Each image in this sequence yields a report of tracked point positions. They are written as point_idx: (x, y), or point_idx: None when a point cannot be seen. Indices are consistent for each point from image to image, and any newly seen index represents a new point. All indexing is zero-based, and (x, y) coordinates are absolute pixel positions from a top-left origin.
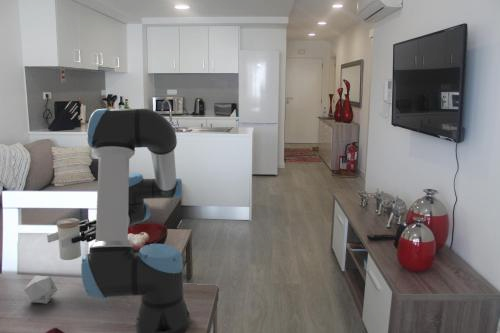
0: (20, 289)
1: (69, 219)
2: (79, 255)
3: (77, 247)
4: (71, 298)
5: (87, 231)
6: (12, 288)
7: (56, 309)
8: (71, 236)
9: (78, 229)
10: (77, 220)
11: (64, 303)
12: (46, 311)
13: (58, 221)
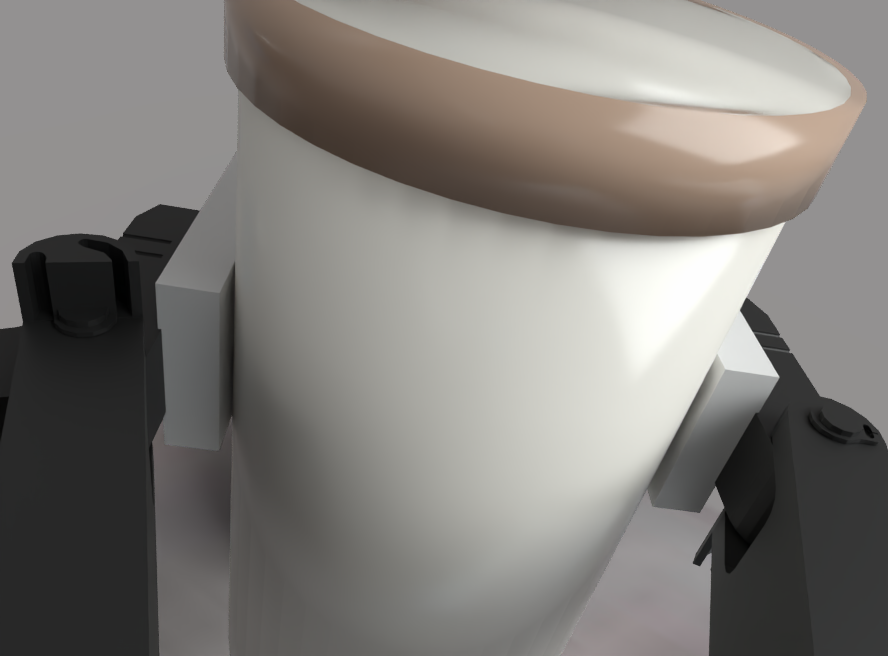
0: (643, 551)
1: (730, 70)
2: (232, 648)
3: (231, 508)
4: (160, 639)
5: (46, 470)
6: (696, 537)
7: (160, 488)
8: (221, 179)
9: (257, 246)
10: (419, 37)
11: (161, 561)
12: (210, 451)
13: (727, 12)
